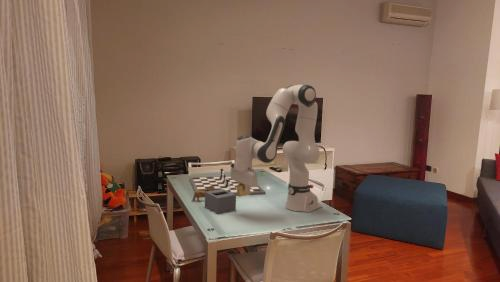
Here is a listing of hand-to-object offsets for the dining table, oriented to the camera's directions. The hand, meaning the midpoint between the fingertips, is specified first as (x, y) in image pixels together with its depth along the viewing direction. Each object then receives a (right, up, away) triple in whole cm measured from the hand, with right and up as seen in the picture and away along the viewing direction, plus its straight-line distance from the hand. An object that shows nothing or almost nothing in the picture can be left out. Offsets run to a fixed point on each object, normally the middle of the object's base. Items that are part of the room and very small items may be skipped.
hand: (243, 191), depth 196 cm
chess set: (-14, -6, +59) cm, 61 cm away
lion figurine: (-25, -10, +26) cm, 37 cm away
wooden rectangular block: (0, -2, 0) cm, 2 cm away
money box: (-14, -12, +12) cm, 22 cm away
